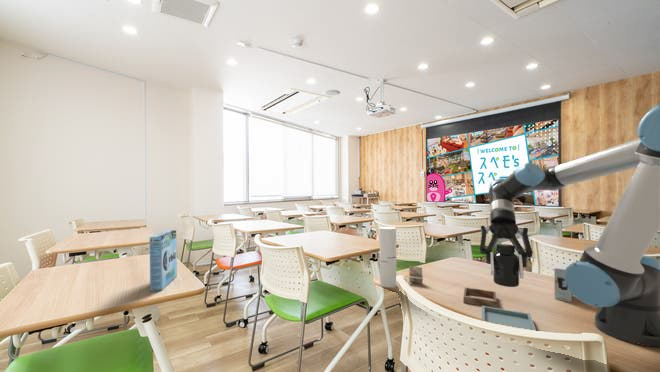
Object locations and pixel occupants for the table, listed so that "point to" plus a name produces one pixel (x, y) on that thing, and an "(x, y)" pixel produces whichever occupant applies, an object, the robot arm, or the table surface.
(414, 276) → the architectural model
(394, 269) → the cylindrical container
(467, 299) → the frame
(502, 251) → the supplement bottle
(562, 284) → the ink box
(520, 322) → the tray
